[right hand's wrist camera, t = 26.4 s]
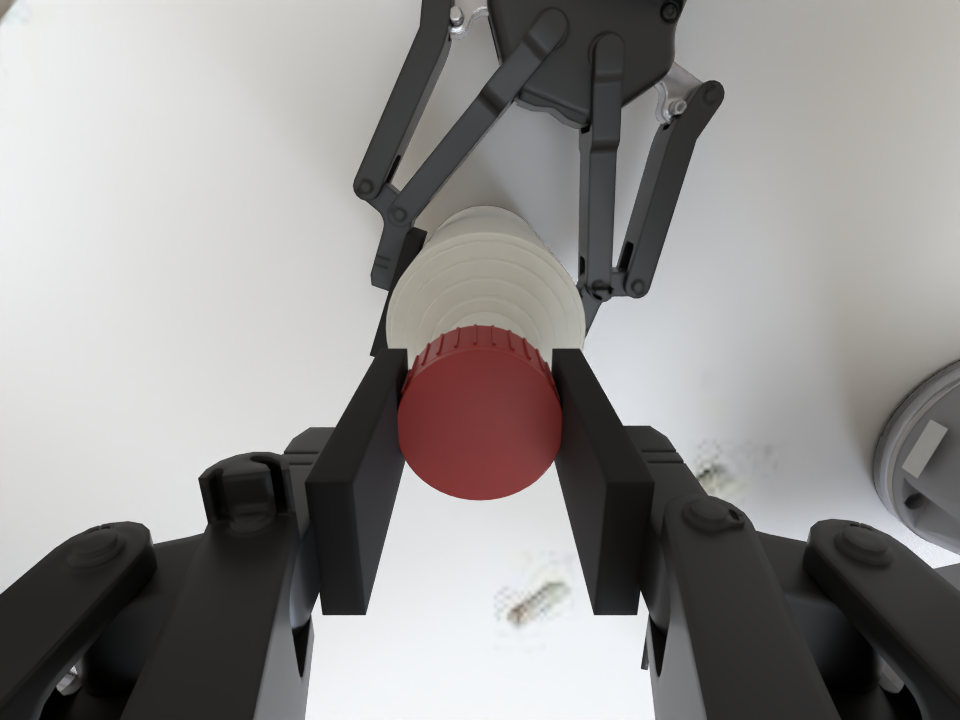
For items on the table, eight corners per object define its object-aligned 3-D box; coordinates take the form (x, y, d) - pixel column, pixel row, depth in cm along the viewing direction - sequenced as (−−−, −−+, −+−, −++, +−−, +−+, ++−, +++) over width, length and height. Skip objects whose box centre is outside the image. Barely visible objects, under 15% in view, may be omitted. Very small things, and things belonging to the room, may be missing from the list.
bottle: (419, 210, 32) (331, 266, 13) (542, 201, 31) (624, 244, 13) (432, 328, 34) (373, 509, 16) (545, 320, 34) (617, 494, 16)
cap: (442, 478, 15) (436, 523, 13) (379, 356, 14) (363, 387, 12) (574, 430, 15) (589, 470, 13) (523, 299, 14) (529, 321, 12)
